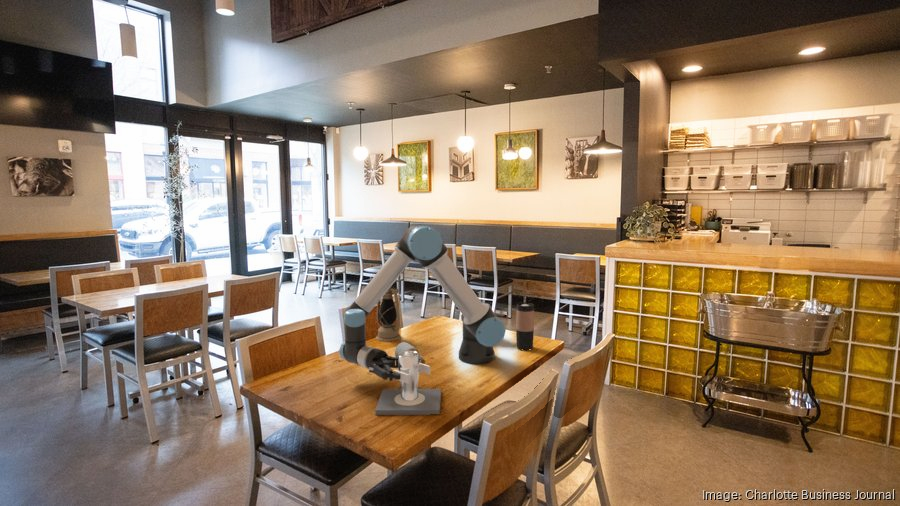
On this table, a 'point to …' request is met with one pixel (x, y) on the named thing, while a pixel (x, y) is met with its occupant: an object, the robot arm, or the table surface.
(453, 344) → the table surface
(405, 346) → the ceramic mug
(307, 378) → the table surface
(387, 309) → the lantern
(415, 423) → the table surface
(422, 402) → the charcoal board
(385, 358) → the robot arm
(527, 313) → the travel mug
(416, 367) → the beer glass
